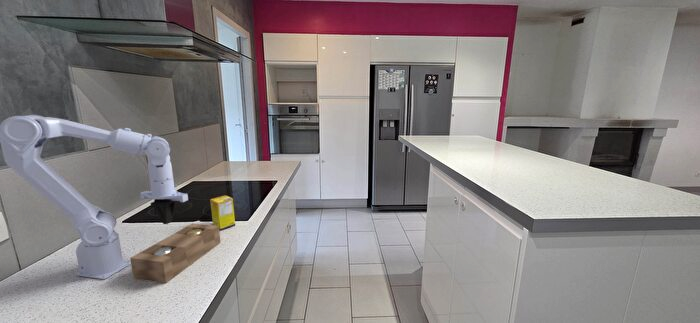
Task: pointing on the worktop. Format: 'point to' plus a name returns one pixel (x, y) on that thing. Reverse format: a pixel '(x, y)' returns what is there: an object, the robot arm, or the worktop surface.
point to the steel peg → (162, 251)
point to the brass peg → (194, 232)
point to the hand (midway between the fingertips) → (167, 222)
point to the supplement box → (222, 212)
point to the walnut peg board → (174, 253)
